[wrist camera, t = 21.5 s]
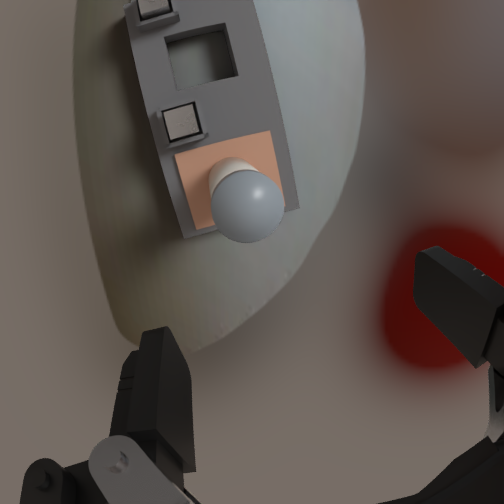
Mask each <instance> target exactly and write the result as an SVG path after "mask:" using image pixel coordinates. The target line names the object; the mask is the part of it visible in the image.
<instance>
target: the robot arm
mask: <svg viewBox="0 0 504 504" xmlns="http://www.w3.org/2000/svg"><path fill="white" fill-rule="evenodd" d="M413 297H414V300H415V303H416V305H417V307H418V308H419V309H420V310H421V311H422V312H423V313H424V314H425V315H426V317H427V318H429V320H430V321H431V322H432V323H433V324H435V326H436V327H438V329H439V330H440V331H441V332H442V333H443V334H444V335H445V336H446V337H447V338H448V339H449V340H450V341H451V342H452V343H453V344H454V345H455V346H456V347H457V349H458V350H459V351H460V352H461V353H462V354H463V355H464V356H465V357H466V358H467V359H468V361H469V362H470V363H471V364H472V365H473V366H474V367H475V368H478V367H479V366H481V365H482V364H484V363H485V362H486V361H489V363H490V366H489V369H488V380H489V423H488V427H487V430H486V432H485V435H484V439H483V440H481V441H480V442H479V443H477V444H476V445H475V446H473V447H472V448H470V449H469V450H468V451H466V452H465V453H463V454H462V455H460V456H459V457H457V458H456V459H454V460H453V461H452V462H451V463H450V464H449V465H448V466H447V467H446V468H445V469H444V470H443V471H442V472H441V473H440V474H439V475H438V476H437V477H436V478H435V479H434V480H433V481H432V482H430V483H429V484H428V485H427V486H426V487H425V488H424V489H423V490H421V491H420V492H419V493H417V494H415V495H412V496H408V497H404V498H401V499H396V500H392V501H388V502H383V503H378V504H504V287H502V286H501V285H500V284H498V283H497V282H496V281H494V280H493V279H491V278H490V277H489V276H487V275H484V273H483V272H482V271H480V270H479V269H476V267H474V266H473V265H472V264H470V263H469V262H467V261H466V260H463V259H461V258H458V257H454V256H453V255H451V254H450V253H448V252H447V251H445V250H444V249H442V248H441V247H439V246H434V247H432V248H429V249H426V250H423V251H421V252H418V253H417V255H416V258H415V272H414V287H413ZM120 380H121V381H119V385H118V393H117V395H116V400H115V405H114V411H113V417H112V422H111V428H110V434H109V437H108V438H105V439H104V440H102V441H100V442H99V443H98V444H97V445H96V446H95V447H94V449H93V450H92V452H91V454H90V457H89V460H87V461H84V462H81V463H78V464H75V465H72V466H68V467H65V468H63V467H61V466H60V465H59V464H58V463H56V462H55V461H53V460H51V459H48V458H43V459H39V460H37V461H35V462H34V463H32V464H31V465H30V467H29V468H28V469H27V471H26V473H25V476H24V480H23V486H22V492H21V498H20V504H202V503H201V502H200V501H199V500H198V499H197V498H196V497H195V496H194V495H193V494H192V493H191V492H190V491H189V490H188V489H187V488H186V487H184V479H183V473H190V472H196V465H195V450H194V434H193V413H192V384H191V375H190V371H189V368H188V365H187V362H186V360H185V358H184V356H183V354H182V352H181V350H180V348H179V346H178V344H177V342H176V340H175V338H174V336H173V334H172V332H171V330H170V329H169V327H167V326H165V327H161V328H157V329H153V330H148V331H144V332H143V333H142V337H141V342H140V347H139V350H136V351H132V352H131V353H130V355H129V356H128V358H127V359H126V361H125V362H124V364H123V366H122V371H121V376H120Z"/></svg>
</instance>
